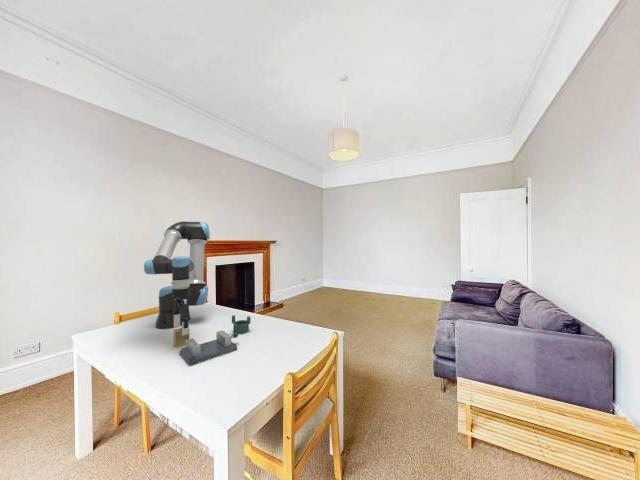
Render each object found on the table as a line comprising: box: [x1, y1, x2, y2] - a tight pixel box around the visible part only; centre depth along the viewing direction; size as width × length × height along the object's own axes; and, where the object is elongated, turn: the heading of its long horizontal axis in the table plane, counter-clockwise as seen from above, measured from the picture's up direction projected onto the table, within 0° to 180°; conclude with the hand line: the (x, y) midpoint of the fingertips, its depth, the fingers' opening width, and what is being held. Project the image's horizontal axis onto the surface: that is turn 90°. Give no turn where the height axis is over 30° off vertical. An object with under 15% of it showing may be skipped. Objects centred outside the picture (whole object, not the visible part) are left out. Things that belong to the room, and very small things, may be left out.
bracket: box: [231, 314, 251, 335], centre depth 141 cm, size 9×9×9 cm
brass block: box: [172, 327, 190, 349], centre depth 123 cm, size 4×6×8 cm, turn 135°
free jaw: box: [215, 329, 239, 347], centre depth 122 cm, size 10×9×4 cm
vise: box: [179, 338, 238, 367], centre depth 116 cm, size 14×21×6 cm, turn 135°
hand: (181, 330), depth 122 cm, fingers open, 13 cm apart
